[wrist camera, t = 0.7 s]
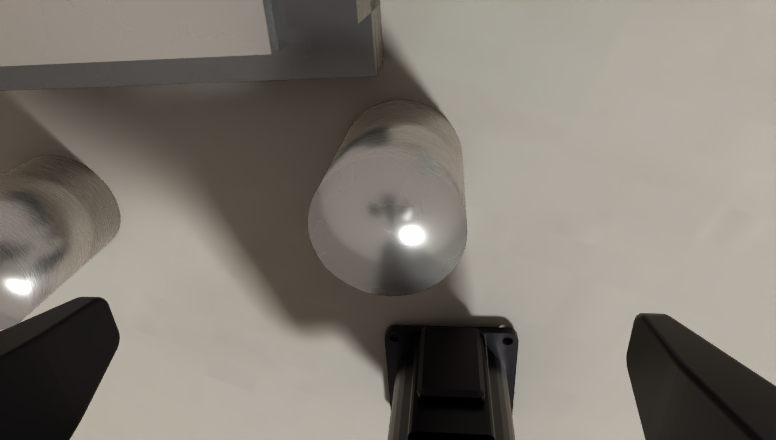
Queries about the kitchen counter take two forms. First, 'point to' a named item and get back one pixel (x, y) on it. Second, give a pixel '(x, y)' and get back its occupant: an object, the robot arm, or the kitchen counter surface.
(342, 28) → the dial scale
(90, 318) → the robot arm
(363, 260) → the cylinder
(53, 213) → the cylinder
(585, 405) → the kitchen counter surface
